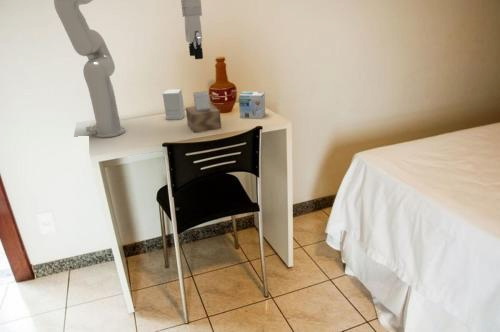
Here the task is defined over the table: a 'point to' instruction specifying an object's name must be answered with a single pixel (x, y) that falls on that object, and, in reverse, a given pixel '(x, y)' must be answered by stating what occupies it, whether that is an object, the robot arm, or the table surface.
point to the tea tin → (201, 101)
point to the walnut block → (203, 119)
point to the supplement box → (173, 104)
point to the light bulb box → (252, 104)
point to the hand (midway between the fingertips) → (196, 57)
